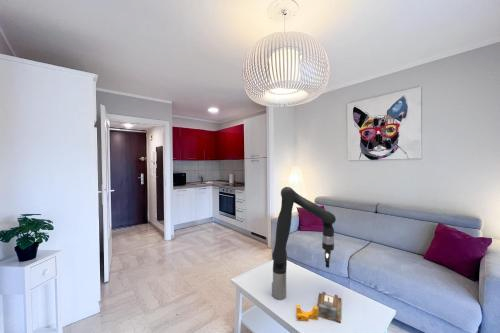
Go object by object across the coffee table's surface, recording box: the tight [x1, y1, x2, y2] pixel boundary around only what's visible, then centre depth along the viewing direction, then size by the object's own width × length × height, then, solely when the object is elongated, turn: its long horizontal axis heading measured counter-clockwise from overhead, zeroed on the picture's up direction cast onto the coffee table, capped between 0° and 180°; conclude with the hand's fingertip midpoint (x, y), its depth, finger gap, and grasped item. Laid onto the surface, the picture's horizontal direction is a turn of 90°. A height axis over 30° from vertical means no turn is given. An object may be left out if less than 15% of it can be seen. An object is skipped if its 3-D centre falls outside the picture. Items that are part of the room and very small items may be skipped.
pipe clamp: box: [295, 304, 319, 322], centre depth 125 cm, size 12×4×6 cm, turn 85°
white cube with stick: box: [324, 294, 333, 307], centre depth 131 cm, size 5×6×8 cm
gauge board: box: [316, 291, 342, 324], centre depth 134 cm, size 14×22×6 cm, turn 156°
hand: (327, 267), depth 144 cm, fingers closed
